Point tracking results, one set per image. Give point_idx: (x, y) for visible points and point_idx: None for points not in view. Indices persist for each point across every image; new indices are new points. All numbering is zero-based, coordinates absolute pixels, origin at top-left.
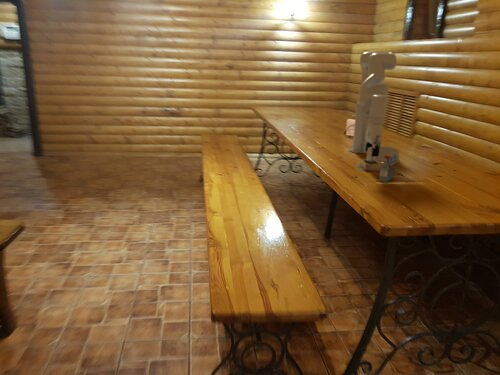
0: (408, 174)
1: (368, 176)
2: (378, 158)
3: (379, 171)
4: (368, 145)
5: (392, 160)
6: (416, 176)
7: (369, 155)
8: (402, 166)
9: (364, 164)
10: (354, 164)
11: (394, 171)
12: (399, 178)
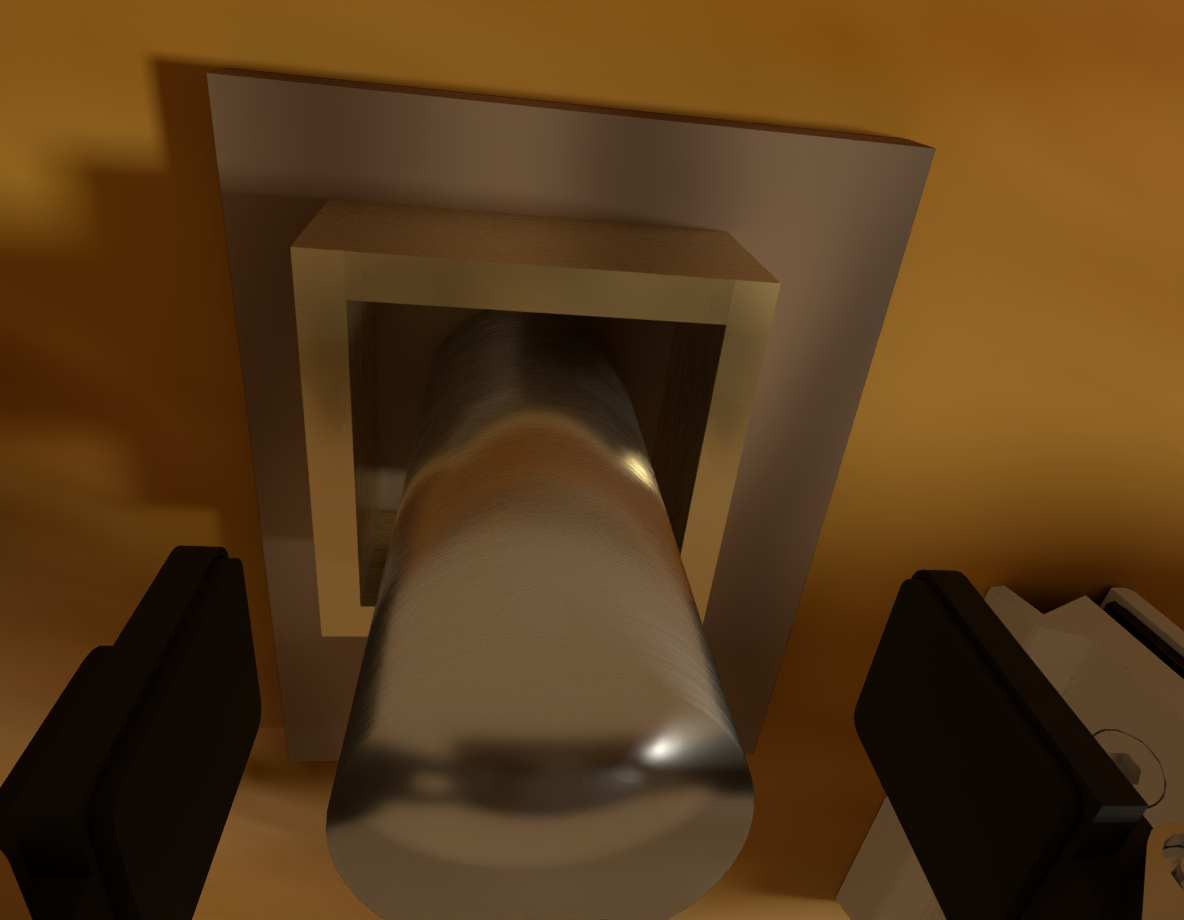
0: (330, 856)
1: (26, 157)
2: None
3: (302, 508)
4: (1003, 806)
5: (915, 881)
6: (236, 905)
7: (431, 510)
8: (737, 897)
9: (401, 243)
10: (916, 162)
11: (336, 740)
12: (51, 694)
